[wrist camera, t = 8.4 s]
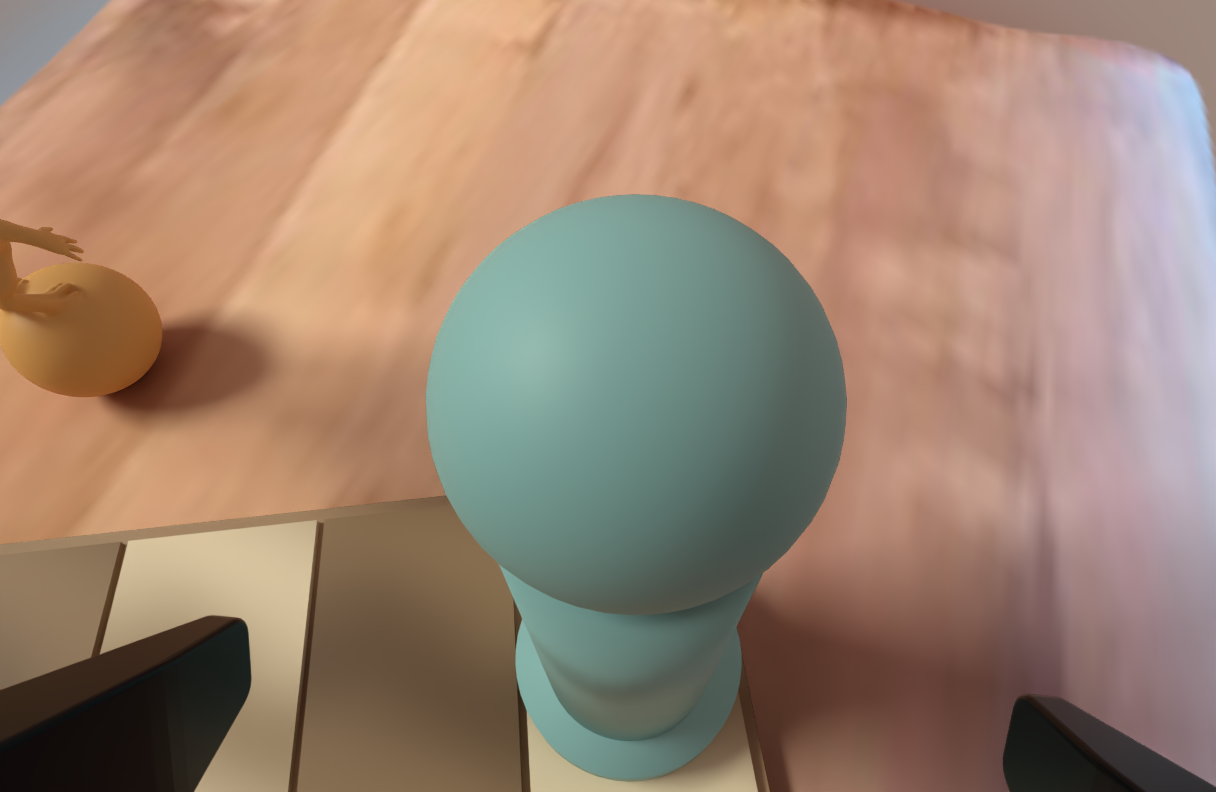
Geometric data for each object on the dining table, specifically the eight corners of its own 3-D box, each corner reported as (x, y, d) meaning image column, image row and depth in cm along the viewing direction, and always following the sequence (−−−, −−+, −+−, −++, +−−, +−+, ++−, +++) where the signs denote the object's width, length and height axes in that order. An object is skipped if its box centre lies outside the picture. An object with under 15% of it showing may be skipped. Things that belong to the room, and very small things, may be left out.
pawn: (756, 765, 16) (1110, 539, 5) (526, 795, 16) (257, 637, 4) (713, 546, 19) (861, 47, 7) (515, 568, 19) (334, 90, 7)
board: (785, 891, 16) (792, 892, 15) (-241, 1031, 15) (-279, 1039, 14) (702, 475, 21) (704, 464, 20) (-59, 558, 20) (-79, 550, 19)
